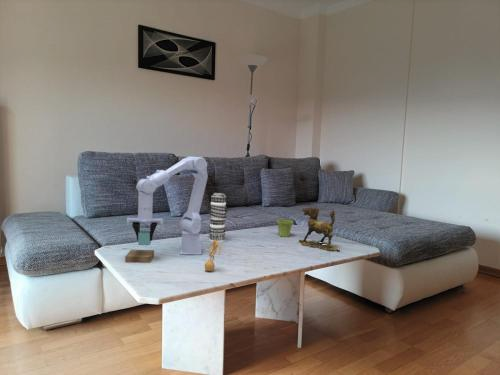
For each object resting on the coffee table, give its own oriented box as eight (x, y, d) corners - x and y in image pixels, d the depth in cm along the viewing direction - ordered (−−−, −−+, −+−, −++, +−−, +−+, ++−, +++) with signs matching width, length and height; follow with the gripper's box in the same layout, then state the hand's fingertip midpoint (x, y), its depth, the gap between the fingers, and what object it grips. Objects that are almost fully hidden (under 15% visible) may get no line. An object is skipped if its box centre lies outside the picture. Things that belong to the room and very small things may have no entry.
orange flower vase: (198, 269, 143) (199, 239, 142) (210, 266, 147) (211, 237, 146) (212, 274, 137) (213, 244, 136) (224, 271, 142) (225, 241, 140)
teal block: (151, 242, 154) (151, 231, 153) (149, 245, 149) (149, 233, 149) (140, 242, 153) (140, 230, 153) (138, 245, 149) (138, 233, 148)
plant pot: (294, 237, 205) (295, 222, 204) (278, 237, 203) (279, 222, 202) (289, 234, 214) (290, 219, 213) (273, 234, 212) (274, 219, 211)
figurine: (308, 239, 202) (310, 203, 200) (346, 249, 184) (349, 210, 182) (292, 242, 194) (295, 205, 192) (331, 253, 175) (334, 212, 173)
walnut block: (154, 256, 158) (154, 250, 158) (150, 263, 149) (150, 256, 148) (130, 256, 157) (130, 249, 157) (125, 263, 147) (125, 256, 147)
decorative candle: (204, 239, 191) (206, 192, 188) (217, 237, 198) (218, 192, 195) (216, 243, 185) (218, 194, 182) (229, 240, 192) (231, 193, 189)
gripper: (125, 209, 145) (124, 242, 146) (162, 210, 147) (161, 242, 148) (128, 206, 152) (128, 238, 153) (164, 207, 154) (163, 238, 155)
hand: (144, 240), depth 151 cm, fingers closed on teal block, 4 cm apart
